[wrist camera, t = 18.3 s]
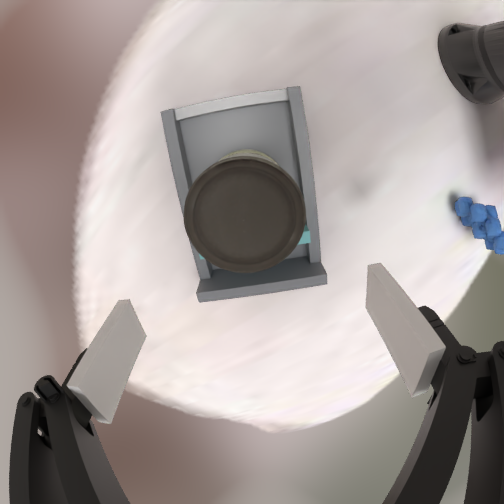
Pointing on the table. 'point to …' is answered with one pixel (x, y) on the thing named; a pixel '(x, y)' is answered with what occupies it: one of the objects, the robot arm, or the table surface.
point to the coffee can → (244, 212)
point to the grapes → (482, 222)
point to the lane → (255, 138)
